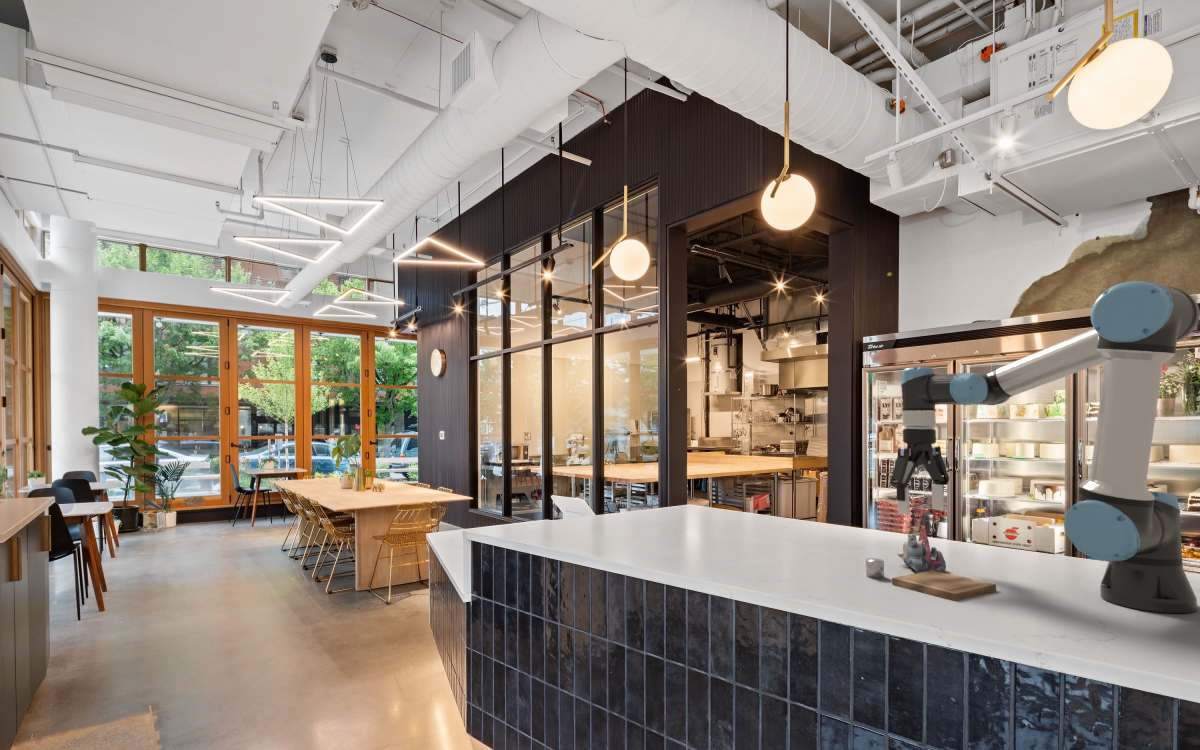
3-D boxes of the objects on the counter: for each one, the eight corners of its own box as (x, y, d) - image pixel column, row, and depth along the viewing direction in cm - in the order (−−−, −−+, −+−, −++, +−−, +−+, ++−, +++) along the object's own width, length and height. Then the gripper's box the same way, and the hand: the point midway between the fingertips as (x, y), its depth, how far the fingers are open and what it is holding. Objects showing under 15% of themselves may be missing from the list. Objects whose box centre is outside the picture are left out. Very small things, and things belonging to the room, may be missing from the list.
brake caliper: (961, 567, 152) (927, 526, 154) (923, 593, 154) (889, 552, 156) (947, 556, 163) (915, 518, 165) (911, 581, 165) (880, 543, 167)
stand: (996, 590, 140) (995, 584, 140) (954, 600, 133) (954, 593, 133) (932, 575, 153) (932, 569, 153) (892, 584, 146) (891, 577, 146)
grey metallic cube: (887, 577, 152) (887, 560, 153) (876, 579, 150) (876, 562, 151) (873, 574, 156) (873, 557, 156) (862, 576, 154) (862, 559, 154)
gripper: (935, 426, 170) (937, 506, 169) (873, 428, 159) (875, 513, 158) (963, 427, 164) (965, 510, 163) (900, 429, 152) (902, 518, 151)
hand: (921, 512), depth 160 cm, fingers open, 13 cm apart
